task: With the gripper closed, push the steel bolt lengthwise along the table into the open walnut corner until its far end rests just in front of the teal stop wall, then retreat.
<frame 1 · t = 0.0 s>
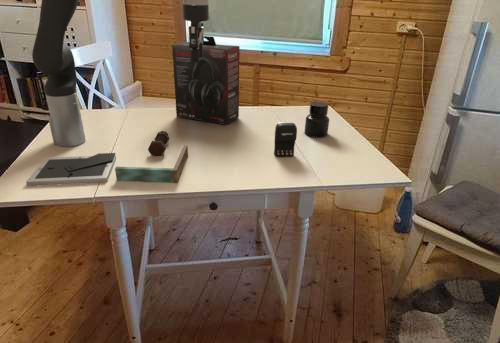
hand: (197, 59, 114), 29 cm above the table, tool pointing down, fingers open, 8 cm apart
headset box: (207, 117, 155), on the table
battery charger: (284, 156, 122), on the table
ink bottle: (315, 134, 141), on the table
bolt: (161, 148, 125), on the table
picture frame: (75, 174, 107), on the table
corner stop: (149, 167, 111), on the table
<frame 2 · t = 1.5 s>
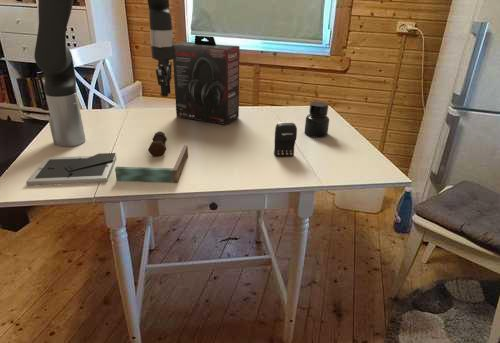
hand: (166, 94, 129), 15 cm above the table, tool pointing down, fingers open, 3 cm apart
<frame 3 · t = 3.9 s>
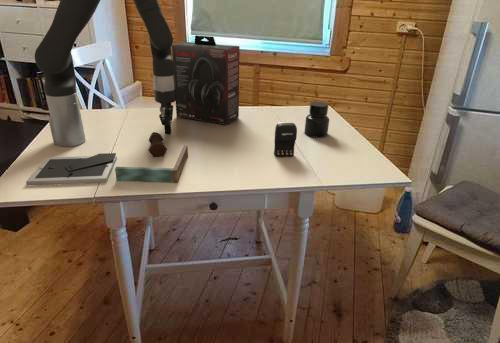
hand: (168, 134, 135), 1 cm above the table, tool pointing down, fingers closed
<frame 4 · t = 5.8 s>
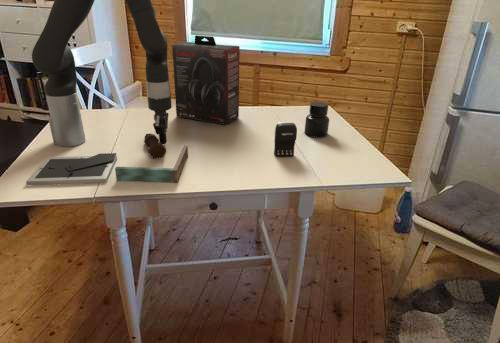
hand: (163, 143, 126), 1 cm above the table, tool pointing down, fingers closed
bolt: (154, 150, 123), on the table, touching gripper
everything else where it was.
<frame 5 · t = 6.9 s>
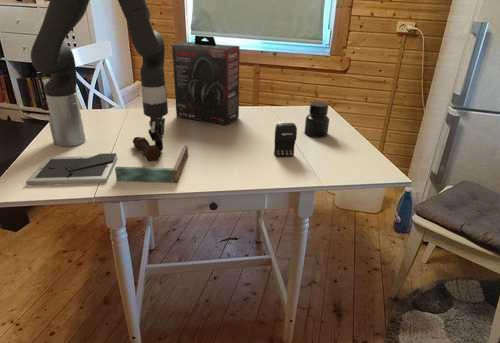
hand: (159, 150, 121), 1 cm above the table, tool pointing down, fingers closed
bolt: (145, 154, 120), on the table, touching gripper
everything else where it was.
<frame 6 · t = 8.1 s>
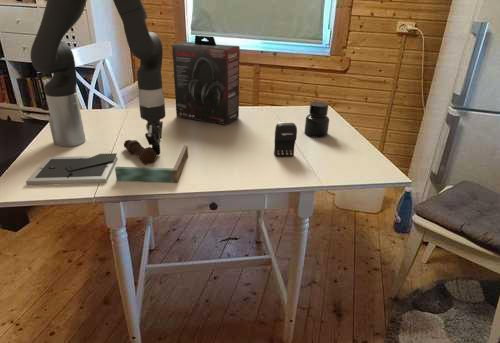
hand: (156, 154, 118), 1 cm above the table, tool pointing down, fingers closed
bolt: (139, 157, 118), on the table
everything else where it was.
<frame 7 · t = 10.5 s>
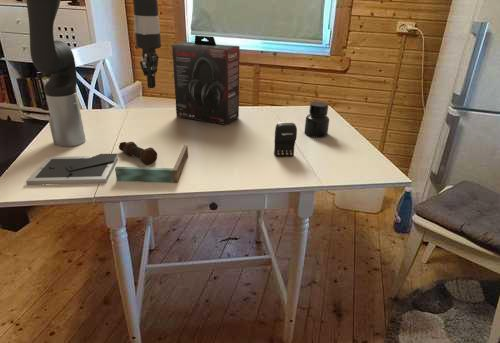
hand: (151, 87, 119), 20 cm above the table, tool pointing down, fingers closed
bolt: (137, 158, 117), on the table
everything else where it was.
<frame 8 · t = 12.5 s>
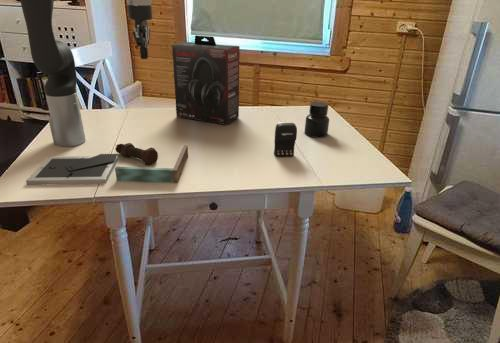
hand: (144, 58, 125), 27 cm above the table, tool pointing down, fingers closed
at the end: bolt inside the target area (6.5 cm from its centre), on the table; bolt moved 11.4 cm from its start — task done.
